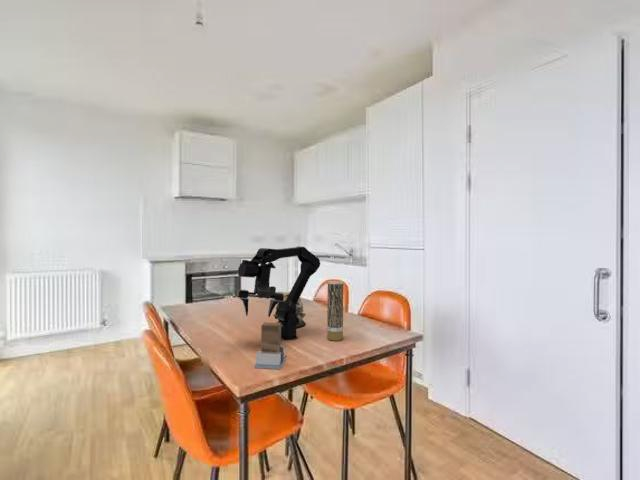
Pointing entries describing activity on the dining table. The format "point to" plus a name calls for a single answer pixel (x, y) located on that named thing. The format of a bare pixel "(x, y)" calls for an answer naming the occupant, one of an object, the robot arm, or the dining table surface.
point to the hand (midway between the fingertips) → (257, 316)
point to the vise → (270, 359)
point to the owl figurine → (298, 311)
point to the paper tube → (335, 311)
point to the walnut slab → (271, 337)
